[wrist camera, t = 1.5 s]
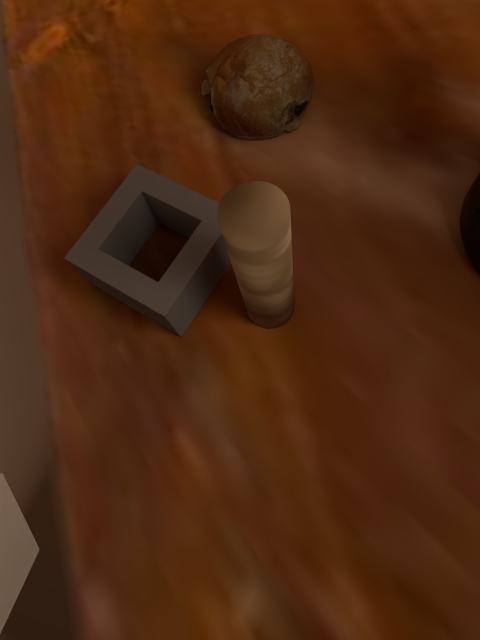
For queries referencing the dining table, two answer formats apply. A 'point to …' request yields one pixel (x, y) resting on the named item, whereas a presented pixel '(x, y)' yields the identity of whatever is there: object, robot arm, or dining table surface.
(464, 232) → the robot arm
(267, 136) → the bread roll
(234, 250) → the dowel
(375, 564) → the dining table surface
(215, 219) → the socket
